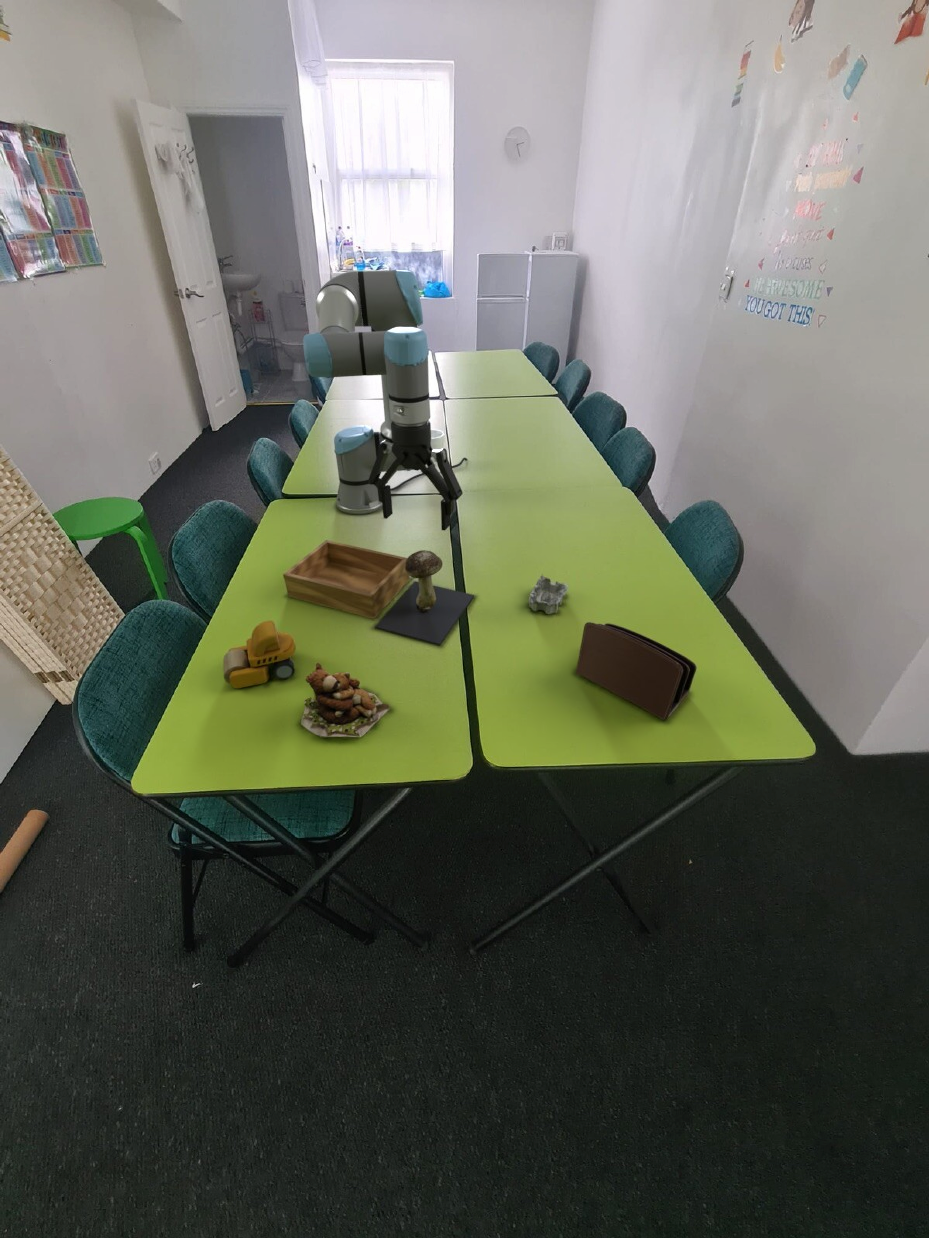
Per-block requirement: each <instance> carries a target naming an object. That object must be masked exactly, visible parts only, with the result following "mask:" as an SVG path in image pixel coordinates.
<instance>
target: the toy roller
mask: <svg viewBox="0 0 929 1238" xmlns="http://www.w3.org/2000/svg"><path fill="white" fill-rule="evenodd" d="M296 650H297V646H296V641H295V639H294V637H293V635H291V634H289V633H285V632H282V631H277V627H276V623H275V621H273V620H270V619H269V620H265V621H261V622H260V623H259V624H257V625H256V626H255V627H254V629H253V630H252V633H251V637H249V638H248V639H246V645H240V646H236V647H231V648H229V649H228V651H227V652H226V653H225V654H224V656H223V659H222V664H223V666H222V667H223V679H224V682H225V683H227V684H228V685H230V686H231V687H232V688H234V689H241V688H242V689H243V688H248V687H253V686H257V685H263V684H265V683H267V682H268V681H269V679H270V677H271V676H270V670H269V665H270V664H272V665H273V668H272V671H273V676H274V677H275V678H276V679H278V680H281V681H284V680H288V679H290V678H292V677H293V676H294V674H295V673H296V670H295V665H294V662H293V660H292V658H291V657H292V656H293V655H294V654H295V652H296Z"/></svg>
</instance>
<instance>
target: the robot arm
mask: <svg viewBox="0 0 929 1238" xmlns="http://www.w3.org/2000/svg"><path fill="white" fill-rule="evenodd" d="M420 295H421V294H420V291H419V284H418V280H417V276H416V275H415V273H414V272H412V271H410V270H401V269H400V270H399V269H385V270H361V271H360V270H350V271H345V272H342V273H340V274H338V275H335V276H334V277H332V278H331V279H330V280H328V281H326V283H324V284H323V285H322V286H321V288H320V289H319V291H318V293H317V296H316V298H315V312H316V315H317V317H318V323H317V331H316V332H315V333H307V334H305V335H304V337H303V338H302V345H303V347H302V348H303V354H304V361H305V368H306V370H307V374H309V376H310V377H313V378H325V379H330V378H345V377H363V376H365V377H366V376H367V377H368V376H369V377H370V376H380V378H381V389H382V391H381V392H382V404H383V414H384V415H383V416H384V421H383V422H382V423H381V424H380V429H379V430H380V431H374V429H373V427H371V426H370V425H364V424H362V425H361V424H359V425H353V426H349V427H346V428H343V429H341V430H340V431H338V432H337V433H336V434H335V436H334V439H333V444H334V450H333V451H334V453H335V458H336V459H335V460H336V465H337V466H336V467H337V473H338V480H339V483H338V488H337V489H338V490H337V494H336V501H335V502H336V507H337V509H338V510H339V511H340V512H343V513H344V514H349V515H367V514H372V513H375V512H377V511H380V510H382V515H383V519H385V520H387V519H388V518H390V517H391V516H392V515H394V514H393V513H394V512H393V501H392V500H393V499H392V492H393V491H396V490H398V489H399V488H401V487H402V486H404V485H406V484H407V483H409V482H410V481H412V480H415V479H417V478H419V477H422V476H426V477H427V478H428V480H429V481H430V483H431V484H432V485H433V486H434V488H435V489H436V490H437V492H438V493H439V494H440V495H441V497H442V499H441V501H440V520H441V522H440V523H441V524H440V525H441V531H446V530H447V529H448V528H449V527H450V526H451V516H452V514H453V513H454V510H455V501H457V500H459V499H460V498H461V497H462V495H463V494H464V493H463V490H462V487H461V485H460V483H459V480H458V479H457V477H456V475H455V472H454V470H453V469H455V468H457V467H460V466H461V465H462V464H463V463H464V461H468V458H467V457H462V458H461V460H460V462H458V463H456V464H455V465H451V463H450V461H449V458H448V451H447V449H446V448H445V447H443V448H442V449H441V450H433V449H432V447H431V429H432V426H431V424H432V423H431V421H430V419H431V404H430V401H431V400H430V384H429V376H430V375H429V352H430V349H429V347H428V337H427V333H426V331H425V330H423V329H422V328H418V327H420V326H422V325H423V324H424V316H423V309H422V302H421V296H420ZM356 327H357V328H358V327H360V328H361V327H363V328H367V327H369V328H370V331H356ZM431 457H434V459H435V460H434V461H435V462H437V465H438V468H439V470H440V472H438V470H437V469H436V468H435V464H434V463H433V461H432V460H431ZM426 464H427V465H428V468H427V467H426ZM400 471H406V472H410V471H417V472H419V471H420V472H421V473H418V474H416V475H413V476H411V477H409V478H408V479H405V480H404V481H402V482H401V483H400V484H398V485H397V486H394V487H392V488H391V485H390V484H388V483H389V481H390V480H391V478H393V476H394V475H395V474H396V473H397V472H400ZM382 473H384V474H383V475H382V477H381V474H382ZM380 477H381V478H380Z"/></svg>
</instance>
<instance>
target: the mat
mask: <svg viewBox="0 0 929 1238" xmlns="http://www.w3.org/2000/svg"><path fill="white" fill-rule="evenodd" d="M433 588H434V592H435V594H436V595H435V596H436V601H435V604H434V605H433V606H432V607H431V608H430V609H429V611H426V612H420V611H419V610H416V609H417V608H416V606H417V605H416V599H417V596H418V594H419V581H416V580H415V581H413V583H412V584H411V585H410V586H409V587H408V589H407V590H406V591H405V592H404V593H403V594H402V595H401V597H400V598H399V599H398V600H397V601H396V602H395V603H394V604H393V606H392V607H391V608H390V609H389V610H388V611H387V612H386V614H385V615H383V617H382V618H381V619H380V620H379V621H378V622H377V623H376V624H375V626H374V629H377V630H379V631H383V632H385V633H386V632H387V633H390V634H394V635H398V636H402V637H405V638H409V639H412V640H416V641H420V642H423V643H428V644H431V645H434V646H439V647H440V646H441V645H442V643H443V642H444V641H445V639H446V638H447V637H448V635H449V633H450V632H451V631H452V629H453V628H454V626H455V625H456V624H457V623H458V621H459V620H460V618H461V616H462V615H463V614H464V613H465V611H466V609H467V608H468V607H469V605H470V604H471V602H472V601H473V600H474V598H475V595H474V594H470V593H467V592H462V591H459V590H455V589H449V588H446V587H442V586H437V585H433Z"/></svg>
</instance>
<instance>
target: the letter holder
mask: <svg viewBox="0 0 929 1238" xmlns="http://www.w3.org/2000/svg"><path fill="white" fill-rule="evenodd" d="M697 668H698V667H697V665H696V663H695V662H694V661H693V660H691V659H689V658H688V657H686V656H685V655H683V654H681V653H680V652H677V651H676V650H674V649H672V648H670V647H668V646H666V645H664V644H662V643H661V642H658V641H656V640H654V639H651V638H650V637H648V636H646V635H642V633H638V632H636V631H633V630H631V629H628V628H626V627H623V626H621V625H617V624H614V623H610V622H607V623H606V622H605V623H604V624H603V623H595V622H592V621H588V622H586V623H584V626H583V630H582V636H581V642H580V647H579V653H578V658H577V663H576V668H575V674H577V675H579V676H582V678H585V679H587V680H589V681H590V682H593V683H594V684H596V685H598V686H600V687H602V688H603V689H605V690H607V691H609V692H611V693H613V694H615V695H617V696H618V697H620V698H622V699H624V700H626V701H628V702H629V703H631V704H633V705H635V706H637V707H638V708H640V709H642V710H644V711H646V712H647V713H649V714H652V715H653V716H656V717H657V718H659V719H661V720H662V721H664V722H667V720H668V719H669V718H670V717H671V715H672V714H673V713H674V711H676V709H677V708H679V706H680V705H681V704H682V702H683V701H684V700H685V698H686V697H687V696H688V694H689V693H690V690H691V687H692V684H693V680H694V677H695V674H696V672H697Z"/></svg>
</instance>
